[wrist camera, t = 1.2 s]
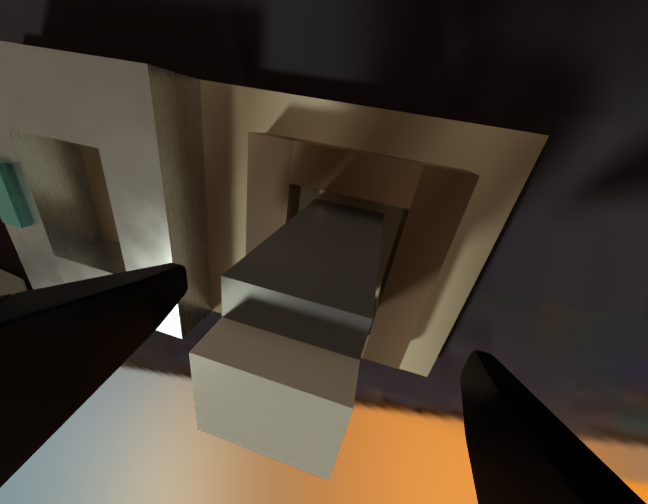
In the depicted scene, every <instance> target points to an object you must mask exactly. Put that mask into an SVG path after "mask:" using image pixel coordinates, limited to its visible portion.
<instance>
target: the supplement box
mask: <svg viewBox="0 0 648 504" xmlns="http://www.w3.org/2000/svg"><path fill="white" fill-rule="evenodd" d="M23 291H28V290H27V287H26V284H25V282H24V280H23V279H21V278H19V277H17V276H15V275H13V274H11V273H8V272H6V271H4V270H2V269H0V296H2V295H7V294H12V295H13V294H15V293H18V292H23Z"/></svg>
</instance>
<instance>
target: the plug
mask: <svg viewBox="0 0 648 504" xmlns="http://www.w3.org/2000/svg"><path fill="white" fill-rule="evenodd" d="M383 219H384V213H380V212H375V211H371V210H366V209H362V208H357V207H353V206H348V205H344V204H339V203H334V202H330V201H325V200H321V199H315V200H314V201H312V202H311V203H310V204H309V205H308V206H306V207H305V208H304V209H303V210H301V211H300V212H299V213H298V214H296V215H295V216H294V217H293V218H291V219H290V220H289V221H288V222H287V223H285V224H284V225H283V226H282V227H280V228H279V229H278V230H277V231H275V232H274V233H273V234H272V235H271V236H269V237H268V238H267V239H266V240H264V241H263V242H262V243H261V244H259V245H258V246H257V247H256V248H255V249H253V250H252V251H251V252H250V253H248V254H247V255H246V256H245V257H243V258H242V259H241V260H240V261H239V262H237V263H236V264H235V265H234V266H232V267H231V268H230V269H229V270H227V271H226V272H225V273H224V274H222V275H221V294H222V318H221V319H220V320H219V321H218V322H217V323H216V324H215V325H214V326H213V327H212V328H211V330H210V331H209V332H208V333H207V334H206V335H205V336H204V337H203V338H202V339H201V340H200V341H199V342H198V343H197V344H196V345H195V347H194V348H193V349H192V350H191V351H190V352H189V357H190V366H191V375H192V383H193V392H194V401H195V409H196V418H197V426H198V430H201V431H204V432H206V433H208V434H211V435H214V436H216V437H219V438H221V439H224V440H226V441H229V442H231V443H234V444H236V445H239V446H242V447H244V448H247V449H249V450H252V451H254V452H257V453H260V454H262V455H265V456H267V457H270V458H272V459H275V460H277V461H280V462H283V463H285V464H288V465H290V466H293V467H295V468H298V469H300V470H303V471H306V472H308V473H311V474H313V475H316V476H318V477H321V478H323V479H326V480H329V478H330V475H331V472H332V469H333V466H334V463H335V460H336V457H337V454H338V451H339V448H340V445H341V442H342V439H343V436H344V434H345V430H346V427H347V424H348V422H349V419H350V416H351V413H352V410H353V405H354V398H355V391H356V384H357V377H358V370H359V363H360V358H361V355H362V352H363V349H364V346H365V342H366V339H367V336H368V333H369V330H370V327H371V323H372V320H373V313H374V303H375V294H376V285H377V275H378V266H379V256H380V247H381V238H382V228H383Z"/></svg>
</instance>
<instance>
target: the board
mask: <svg viewBox="0 0 648 504" xmlns="http://www.w3.org/2000/svg"><path fill="white" fill-rule="evenodd" d="M200 91H201V110H202V129H203V148H204V167H205V186H206V205H207V224H208V243H209V262H210V281H211V300H212V311H216V312H219V313H222V294H221V275H222V274H224V273H225V272H226V271H227V270H229V269H230V268H231V267H232V266H234V265H235V264H236V263H237V262H239V261H240V260H241V259H242V258H243V257H245V256H246V212H247V163H248V132H261V133H271V134H276V135H281V136H287V137H292V138H297V139H303V140H308V141H313V142H319V143H324V144H329V145H335V146H340V147H345V148H351V149H356V150H362V151H367V152H372V153H378V154H383V155H388V156H394V157H399V158H404V159H410V160H415V161H420V162H426V163H431V164H436V165H442V166H447V167H452V168H458V169H463V170H468V171H470V172H472V173H475V174H477V175H479V176H480V177H479V180H478V182H477V184H476V187H475V189H474V191H473V194H472V196H471V199H470V201H469V203H468V206H467V208H466V210H465V213H464V215H463V217H462V220H461V222H460V225H459V227H458V229H457V232H456V234H455V236H454V239H453V241H452V244H451V246H450V248H449V251H448V253H447V255H446V258H445V260H444V263H443V265H442V267H441V270H440V272H439V274H438V277H437V279H436V282H435V284H434V286H433V289H432V291H431V293H430V296H429V298H428V301H427V303H426V305H425V308H424V310H423V312H422V315H421V317H420V319H419V322H418V324H417V327H416V329H415V331H414V334H413V336H412V338H411V341H410V343H409V346H408V348H407V350H406V353H405V355H404V357H403V360H402V362H401V365H400V367H399V368H400V369H403V370H406V371H409V372H413V373H416V374H419V375H422V376H425V377H427V376H428V374H429V372H430V370H431V368H432V366H433V364H434V362H435V360H436V358H437V356H438V354H439V353H440V351H441V349H442V347H443V345H444V343H445V341H446V339H447V337H448V335H449V333H450V331H451V329H452V327H453V325H454V323H455V321H456V319H457V317H458V315H459V313H460V311H461V309H462V307H463V305H464V303H465V301H466V299H467V297H468V295H469V293H470V291H471V289H472V287H473V285H474V283H475V281H476V279H477V277H478V275H479V273H480V271H481V269H482V267H483V265H484V264H485V262H486V260H487V258H488V256H489V254H490V252H491V250H492V248H493V246H494V244H495V242H496V240H497V238H498V236H499V234H500V232H501V230H502V228H503V226H504V224H505V222H506V220H507V218H508V216H509V214H510V212H511V210H512V208H513V206H514V204H515V202H516V200H517V198H518V196H519V194H520V192H521V190H522V188H523V186H524V184H525V182H526V180H527V178H528V176H529V175H530V173H531V171H532V169H533V167H534V165H535V163H536V161H537V159H538V157H539V155H540V153H541V151H542V149H543V147H544V145H545V143H546V141H547V139H548V137H549V135H543V134H537V133H530V132H524V131H518V130H512V129H505V128H499V127H493V126H487V125H480V124H474V123H468V122H462V121H456V120H449V119H443V118H437V117H431V116H424V115H418V114H412V113H406V112H399V111H393V110H387V109H381V108H374V107H368V106H362V105H356V104H349V103H343V102H337V101H331V100H324V99H318V98H312V97H306V96H300V95H293V94H287V93H281V92H275V91H268V90H262V89H256V88H250V87H243V86H237V85H231V84H225V83H218V82H212V81H206V80H200ZM79 146H80V150H81V154H82V158H83V162H84V166H85V170H86V174H87V178H88V182H89V186H90V190H91V193H92V197H93V201H94V205H95V209H96V213H97V217H98V221H99V225H100V229H101V233H102V236H103V239H106V240H110V241H113V242H117V243H120V242H119V237H118V233H117V229H116V224H115V220H114V215H113V211H112V206H111V202H110V198H109V193H108V189H107V184H106V180H105V175H104V171H103V166H102V162H101V158H100V153H99V149H98V148H94V147H90V146H85V145H81V144H79ZM315 199H321V200H325V201H330V202H334V203H339V204H344V205H348V206H353V207H357V208H362V209H366V210H371V211H375V212H380V213H384V219H383V228H382V238H381V247H380V256H379V266H378V275H377V285H376V294H375V303H376V300H377V296H378V293H379V290H380V287H381V284H382V280H383V277H384V274H385V271H386V267H387V264H388V261H389V258H390V254H391V251H392V248H393V245H394V241H395V238H396V235H397V232H398V228H399V225H400V222H401V219H402V216H403V212H404V209H405V208H401V207H396V206H392V205H387V204H382V203H378V202H373V201H369V200H364V199H359V198H355V197H350V196H345V195H341V194H336V193H332V192H327V191H322V190H318V189H313V188H308V187H304V186H301V191H300V200H299V208H298V213H299V212H300V211H301V210H303V209H304V208H305V207H306V206H308V205H309V204H310V203H311V202H312V201H314V200H315ZM375 303H374V306H375Z"/></svg>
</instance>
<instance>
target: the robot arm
mask: <svg viewBox="0 0 648 504" xmlns="http://www.w3.org/2000/svg"><path fill="white" fill-rule="evenodd" d="M187 290H188V280H187V270H186V268H185V266H183V265H180V264H177V263H167V264H162V265H157V266H152V267H146V268H141V269H136V270H131V271H126V272H121V273H116V274H111V275H105V276H100V277H95V278H90V279H85V280H80V281H75V282H69V283H64V284H59V285H54V286H49V287H44V288H39V289H34V290H28V291H23V292H18V293H15V294H13V295H12V294H7V295H2V296H0V487H1V486H2V485H3V484H4V483H5V482H6V481H7V480H8V479H9V478H10V477H11V476H12V475H13V474H14V473H15V472H16V471H17V470H18V469H19V468H20V467H21V466H22V465H23V464H24V463H25V462H26V461H27V460H28V459H29V458H30V457H31V456H32V455H33V454H34V453H35V452H36V451H37V450H38V449H39V448H40V447H41V446H42V445H43V444H44V443H45V442H46V441H47V440H48V439H49V438H50V437H51V436H52V434H54V433H55V432H56V431H57V430H58V429H59V428H60V427H61V426H62V425H63V424H64V423H65V421H67V419H69V417H70V416H71V415H73V413H74V412H75V411H76V410H77V409H78V408H79V407H80V406H81V405H82V404H83V403H84V402H85V401H86V400H87V399H88V398H89V397H90V396H91V395H92V394H93V393H94V392H95V391H96V390H97V389H98V388H99V387H100V386H101V385H102V384H103V383H104V382H105V381H106V380H107V379H108V378H109V377H110V376H111V375H112V374H113V373H114V372H115V371H116V370H117V369H118V368H119V367H120V366H121V365H122V364H123V363H124V362H125V361H126V360H127V359H128V358H129V357H130V356H131V355H132V354H133V353H134V352H135V351H136V350H137V349H138V348H139V347H140V346H141V345H142V344H143V343H144V342H145V341H146V340H147V339H148V338H149V337H150V335H151V334H152V333H153V332H154V331H155V330H156V329H157V328H158V327H159V325H160V324H161V323H162V322H163V321H164V319H165V318H166V317H167V316H168V315H169V313H170V312H171V311H172V310H173V309H174V307H175V306H176V305H177V304H178V302H179V301H180V300H181V299H182V298H183V296H184V295H185V294H186V292H187ZM460 380H461V392H462V404H463V416H464V427H465V436H466V442H467V448H468V452H469V458H470V463H471V468H472V473H473V479H474V484H475V489H476V494H477V500H478V504H646V503H645V502H644V501H643V500H642V499H641V498H640V497H639V496H638V495H637V494H635V493H634V492H633V491H632V490H631V489H630V488H629V487H628V486H627V485H626V484H625V483H624V482H623V481H622V480H621V479H620V478H619V477H618V476H617V475H616V474H615V473H614V472H613V471H612V470H610V468H609V467H607V465H606V464H604V463H603V462H602V461H601V460H600V459H599V458H598V457H597V456H596V455H595V454H594V453H593V452H592V451H591V450H590V449H589V448H588V447H587V446H586V445H585V444H584V443H583V442H582V441H581V440H580V439H579V438H578V437H577V436H576V435H575V434H574V433H573V432H571V431H570V430H569V429H568V428H567V427H566V426H565V425H564V424H563V423H562V422H561V421H560V420H559V419H558V418H557V417H556V416H555V415H554V414H553V413H552V412H551V411H550V410H549V409H548V408H547V407H546V406H545V405H544V404H543V403H542V402H541V401H539V400H538V399H537V398H536V397H535V396H534V395H533V394H532V393H531V392H530V391H529V390H528V389H527V388H526V387H525V386H524V385H523V384H522V383H521V382H520V381H519V380H518V379H517V378H516V377H515V376H514V375H513V374H512V373H511V372H510V371H509V370H507V369H506V368H505V367H504V366H503V365H502V364H501V363H500V362H499V361H498V360H497V359H496V358H495V357H494V356H493V355H492V354H490V353H486V352H483V351H479V350H474V351H473V352H472V353H471V354H470V356H469V358H468V359H467V361H466V363H465V365H464V366H463V368H462V370H461V374H460Z"/></svg>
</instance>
